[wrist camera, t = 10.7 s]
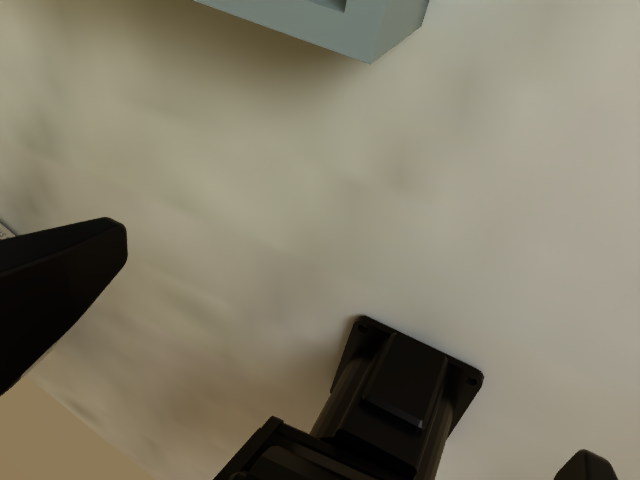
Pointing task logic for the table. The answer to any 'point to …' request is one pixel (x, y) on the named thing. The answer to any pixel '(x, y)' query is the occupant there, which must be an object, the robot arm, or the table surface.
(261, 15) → the slate tote
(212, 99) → the table surface
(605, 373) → the table surface
